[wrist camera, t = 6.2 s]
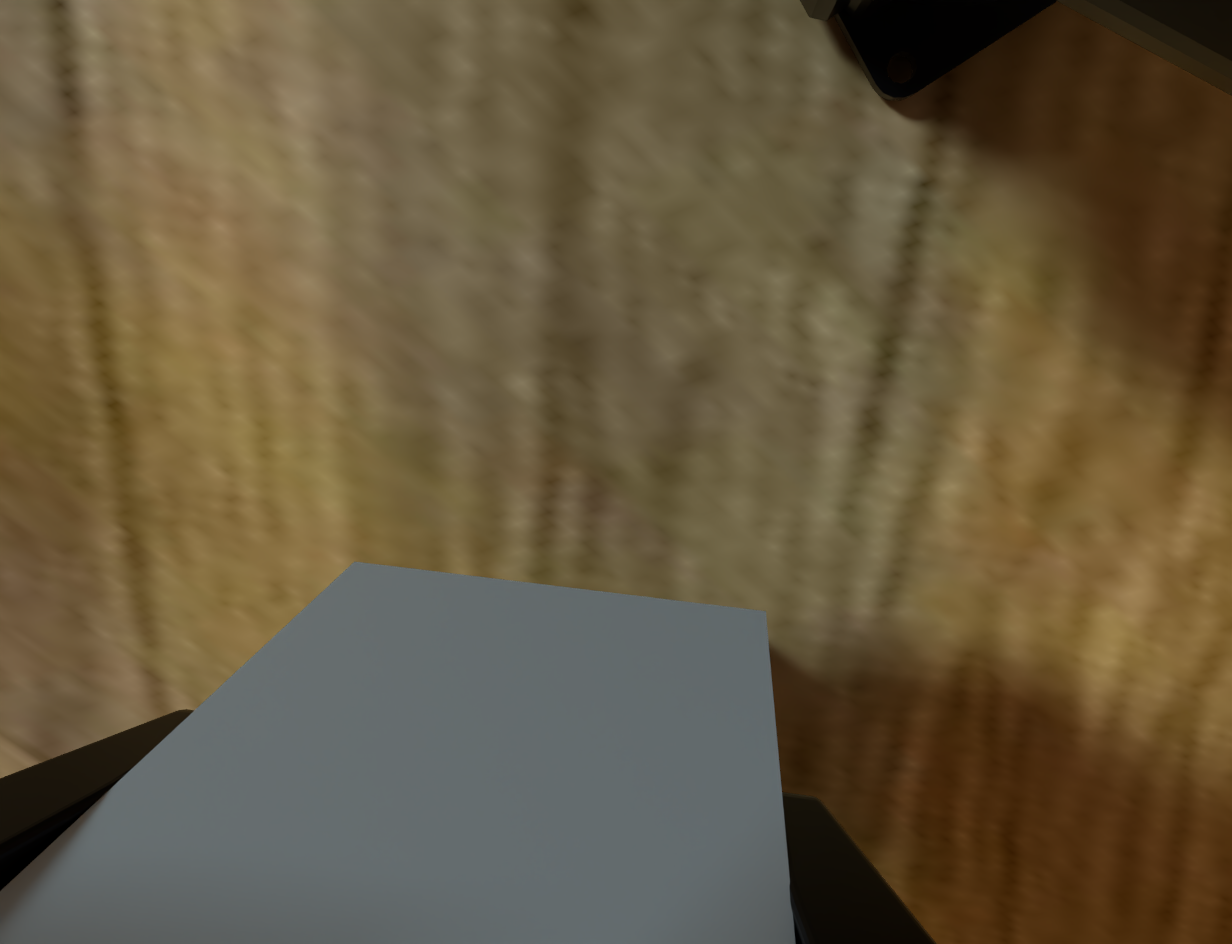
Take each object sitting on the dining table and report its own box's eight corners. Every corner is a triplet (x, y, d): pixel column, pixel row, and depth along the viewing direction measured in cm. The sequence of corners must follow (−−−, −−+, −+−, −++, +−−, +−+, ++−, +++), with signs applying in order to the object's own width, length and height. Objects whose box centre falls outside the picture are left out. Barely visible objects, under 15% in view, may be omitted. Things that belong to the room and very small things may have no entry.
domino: (354, 561, 11) (-587, 1438, 3) (765, 611, 10) (872, 1806, 3) (356, 677, 11) (-455, 1686, 4) (749, 729, 11) (797, 2032, 3)
